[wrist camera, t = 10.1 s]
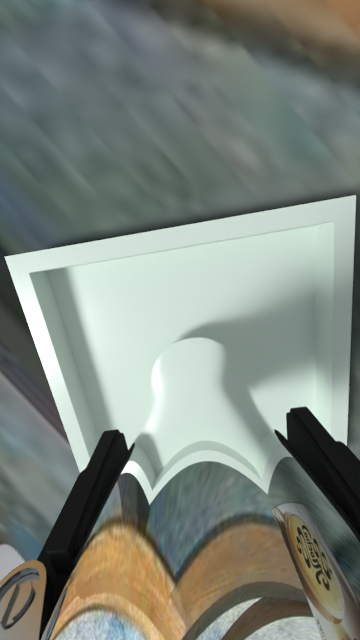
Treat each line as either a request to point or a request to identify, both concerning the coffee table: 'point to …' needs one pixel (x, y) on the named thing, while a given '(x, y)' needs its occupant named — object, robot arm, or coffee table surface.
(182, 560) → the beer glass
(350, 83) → the coffee table surface
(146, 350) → the tray
